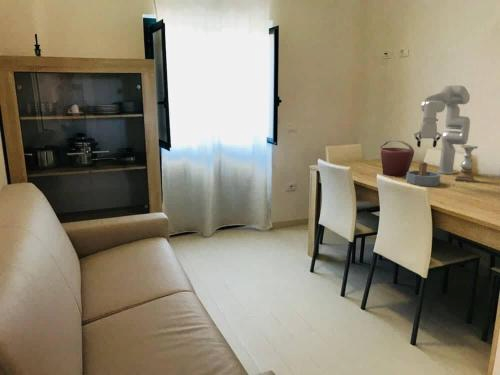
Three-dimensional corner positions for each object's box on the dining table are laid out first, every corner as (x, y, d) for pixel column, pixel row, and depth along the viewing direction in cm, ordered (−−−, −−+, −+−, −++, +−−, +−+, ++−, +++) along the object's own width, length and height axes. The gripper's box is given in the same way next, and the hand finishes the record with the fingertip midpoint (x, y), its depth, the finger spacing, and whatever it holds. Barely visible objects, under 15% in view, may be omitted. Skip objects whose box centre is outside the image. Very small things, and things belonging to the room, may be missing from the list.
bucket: (371, 172, 294) (374, 139, 288) (392, 170, 304) (395, 138, 298) (397, 179, 273) (400, 143, 267) (419, 176, 283) (422, 141, 277)
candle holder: (473, 179, 272) (478, 145, 266) (473, 182, 263) (478, 147, 257) (456, 178, 277) (460, 144, 272) (455, 181, 268) (459, 146, 262)
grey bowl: (402, 179, 272) (403, 170, 271) (432, 180, 270) (433, 170, 269) (411, 185, 253) (412, 176, 251) (443, 186, 251) (444, 177, 249)
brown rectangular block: (417, 179, 266) (419, 161, 263) (422, 179, 266) (424, 161, 263) (420, 180, 261) (422, 163, 258) (425, 181, 260) (427, 163, 257)
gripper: (441, 120, 254) (438, 146, 259) (413, 120, 256) (411, 146, 260) (445, 121, 247) (442, 148, 251) (417, 121, 249) (414, 147, 253)
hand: (426, 147), depth 256 cm, fingers open, 9 cm apart
